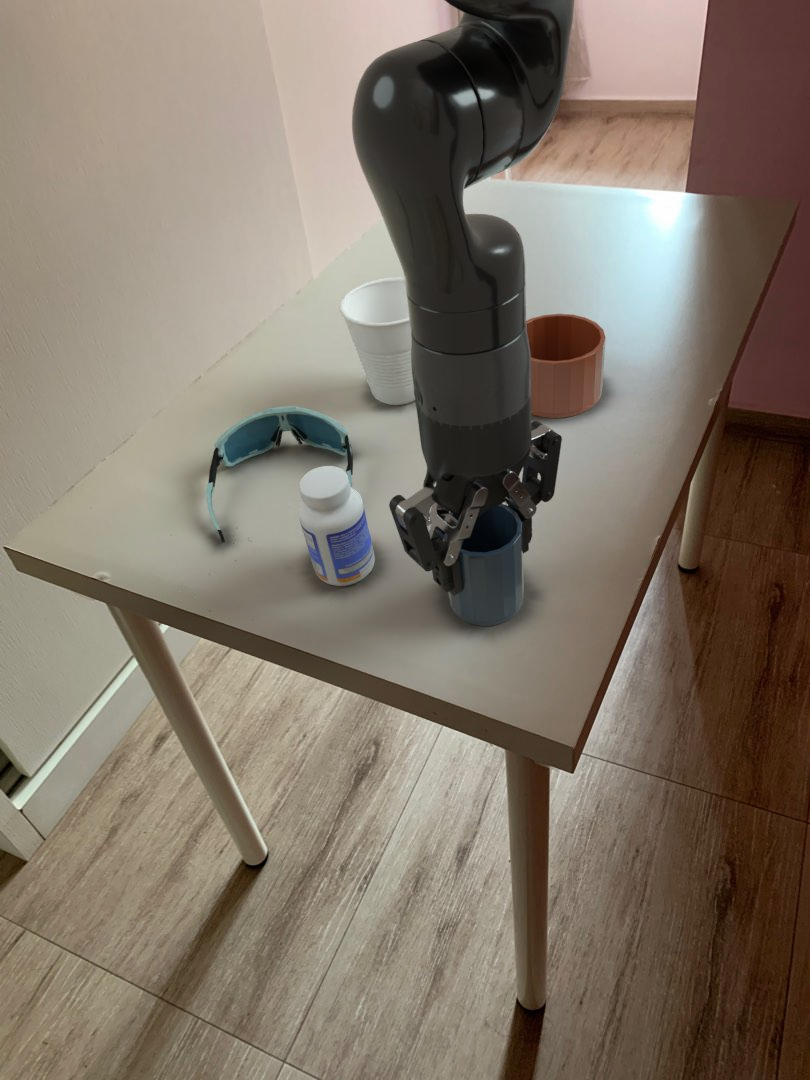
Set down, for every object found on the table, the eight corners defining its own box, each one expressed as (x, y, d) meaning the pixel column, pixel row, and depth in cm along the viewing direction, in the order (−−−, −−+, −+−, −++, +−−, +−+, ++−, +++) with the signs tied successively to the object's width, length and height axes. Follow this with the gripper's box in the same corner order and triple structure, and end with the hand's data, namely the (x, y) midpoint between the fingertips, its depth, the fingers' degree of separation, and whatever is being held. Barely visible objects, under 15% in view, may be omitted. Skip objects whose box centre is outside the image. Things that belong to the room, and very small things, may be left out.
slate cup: (538, 600, 65) (538, 529, 60) (480, 638, 63) (474, 567, 58) (491, 560, 69) (487, 489, 64) (435, 595, 67) (425, 524, 62)
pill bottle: (383, 547, 72) (366, 462, 65) (364, 592, 68) (345, 506, 62) (326, 540, 73) (304, 456, 67) (305, 584, 70) (280, 499, 63)
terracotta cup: (620, 391, 85) (625, 336, 80) (552, 429, 81) (553, 374, 77) (558, 357, 91) (559, 304, 86) (492, 391, 87) (490, 338, 83)
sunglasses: (358, 434, 84) (350, 398, 80) (355, 546, 75) (346, 512, 71) (226, 446, 85) (212, 411, 82) (207, 558, 76) (190, 525, 72)
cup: (461, 377, 90) (453, 285, 82) (414, 426, 84) (402, 332, 77) (387, 359, 95) (373, 270, 87) (338, 405, 89) (319, 314, 81)
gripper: (415, 462, 47) (439, 642, 59) (595, 366, 52) (585, 550, 64) (348, 408, 52) (383, 584, 64) (519, 325, 57) (522, 503, 69)
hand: (484, 566), depth 64 cm, fingers closed on slate cup, 6 cm apart
